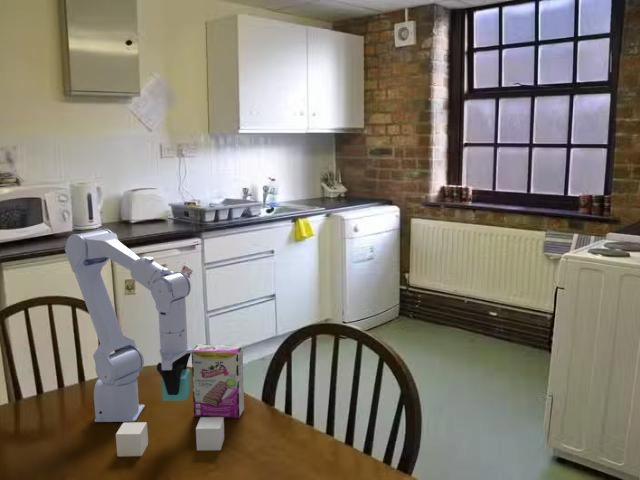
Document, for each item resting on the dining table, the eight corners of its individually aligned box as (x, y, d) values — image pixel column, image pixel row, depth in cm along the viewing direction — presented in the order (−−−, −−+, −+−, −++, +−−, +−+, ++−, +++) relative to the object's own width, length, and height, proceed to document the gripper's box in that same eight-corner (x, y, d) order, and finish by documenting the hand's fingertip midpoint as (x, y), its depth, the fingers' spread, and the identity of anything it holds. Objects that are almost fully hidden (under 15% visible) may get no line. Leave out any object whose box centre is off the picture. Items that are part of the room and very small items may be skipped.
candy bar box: (193, 417, 140) (190, 351, 137) (199, 408, 145) (196, 343, 142) (240, 419, 139) (238, 352, 136) (245, 409, 144) (243, 344, 141)
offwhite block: (117, 456, 124) (115, 434, 123) (124, 444, 129) (123, 422, 128) (141, 456, 124) (140, 434, 123) (148, 443, 129) (146, 422, 128)
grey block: (196, 450, 126) (195, 428, 125) (201, 438, 131) (200, 417, 130) (220, 450, 126) (219, 428, 125) (224, 438, 131) (223, 417, 130)
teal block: (162, 400, 129) (161, 378, 128) (168, 390, 134) (167, 369, 133) (186, 400, 129) (185, 378, 128) (190, 390, 134) (189, 369, 133)
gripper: (184, 340, 122) (187, 403, 124) (198, 318, 136) (200, 375, 138) (149, 341, 122) (153, 403, 124) (167, 318, 136) (170, 375, 138)
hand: (176, 388), depth 131 cm, fingers closed on teal block, 5 cm apart
